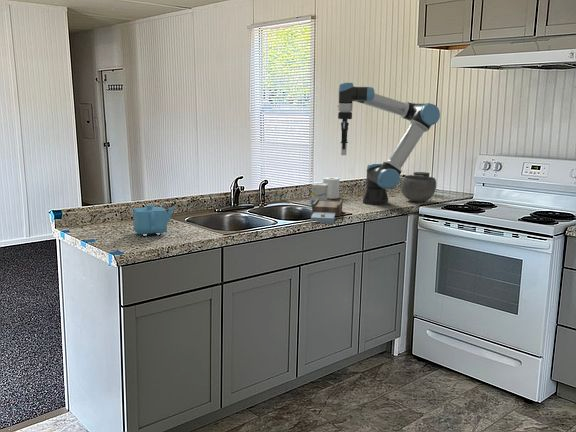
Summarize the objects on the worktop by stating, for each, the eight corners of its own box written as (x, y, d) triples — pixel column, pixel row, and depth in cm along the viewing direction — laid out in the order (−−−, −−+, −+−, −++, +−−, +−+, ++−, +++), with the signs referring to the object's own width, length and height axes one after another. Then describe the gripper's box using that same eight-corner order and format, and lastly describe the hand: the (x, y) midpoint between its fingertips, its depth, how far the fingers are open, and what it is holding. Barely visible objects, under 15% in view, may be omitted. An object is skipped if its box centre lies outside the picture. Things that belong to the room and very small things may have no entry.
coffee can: (426, 193, 377) (427, 172, 374) (429, 195, 366) (431, 173, 364) (410, 192, 377) (412, 171, 374) (413, 195, 367) (415, 173, 364)
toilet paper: (322, 198, 348) (322, 179, 345) (323, 195, 358) (323, 177, 356) (338, 199, 347) (339, 179, 344) (339, 196, 357) (339, 177, 354)
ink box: (325, 205, 323) (326, 185, 321) (310, 204, 324) (311, 184, 322) (327, 203, 331) (328, 183, 329) (313, 202, 333) (313, 182, 331)
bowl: (397, 202, 336) (398, 177, 334) (403, 197, 355) (404, 174, 352) (432, 205, 329) (434, 179, 326) (437, 200, 348) (438, 176, 345)
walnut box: (342, 211, 306) (342, 199, 305) (339, 217, 288) (339, 205, 287) (316, 209, 308) (316, 198, 307) (312, 215, 291) (312, 204, 290)
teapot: (138, 239, 235) (137, 208, 232) (133, 231, 249) (132, 202, 246) (181, 236, 242) (181, 206, 239) (173, 228, 256) (173, 200, 253)
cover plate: (335, 218, 289) (335, 210, 288) (333, 224, 273) (333, 216, 272) (314, 217, 290) (314, 209, 289) (310, 223, 275) (310, 215, 274)
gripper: (339, 111, 314) (338, 154, 318) (337, 111, 301) (335, 155, 305) (352, 111, 312) (351, 154, 317) (351, 111, 300) (349, 156, 304)
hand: (343, 155), depth 311 cm, fingers closed
